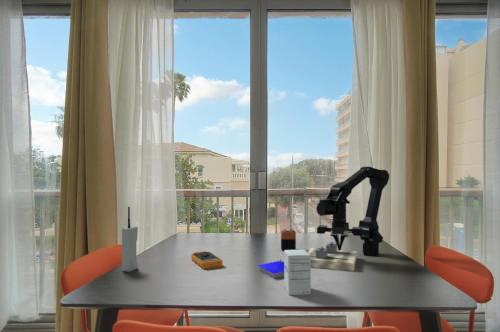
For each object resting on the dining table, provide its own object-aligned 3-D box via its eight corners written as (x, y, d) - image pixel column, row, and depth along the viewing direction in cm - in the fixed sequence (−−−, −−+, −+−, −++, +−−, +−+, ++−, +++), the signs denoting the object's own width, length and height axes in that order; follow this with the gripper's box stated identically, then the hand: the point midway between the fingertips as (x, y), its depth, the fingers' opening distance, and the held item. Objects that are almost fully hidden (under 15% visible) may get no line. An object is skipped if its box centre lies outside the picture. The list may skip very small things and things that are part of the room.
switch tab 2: (336, 250, 152) (336, 242, 152) (335, 253, 147) (335, 244, 147) (327, 250, 153) (327, 241, 153) (326, 252, 149) (326, 243, 149)
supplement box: (283, 287, 115) (283, 249, 115) (305, 286, 116) (305, 249, 116) (288, 295, 108) (287, 255, 108) (311, 294, 109) (311, 254, 109)
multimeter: (208, 257, 155) (208, 249, 156) (223, 267, 139) (223, 259, 139) (189, 259, 152) (189, 252, 152) (203, 270, 136) (203, 262, 136)
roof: (273, 280, 124) (273, 265, 124) (257, 271, 134) (257, 257, 134) (300, 275, 129) (300, 260, 129) (283, 267, 140) (283, 253, 140)
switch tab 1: (327, 255, 144) (327, 246, 144) (325, 258, 139) (325, 249, 139) (317, 254, 145) (317, 245, 145) (315, 257, 140) (315, 248, 140)
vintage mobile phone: (138, 268, 138) (137, 205, 138) (129, 272, 133) (129, 207, 133) (130, 267, 139) (130, 205, 139) (121, 271, 134) (121, 207, 134)
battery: (295, 251, 165) (295, 230, 165) (281, 251, 165) (281, 230, 165) (294, 248, 170) (294, 228, 170) (280, 249, 169) (280, 228, 169)
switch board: (356, 258, 152) (356, 251, 152) (353, 271, 133) (353, 263, 133) (311, 254, 158) (311, 247, 158) (302, 266, 140) (302, 258, 140)
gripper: (314, 215, 145) (314, 253, 145) (361, 217, 139) (361, 256, 138) (318, 212, 155) (318, 247, 155) (362, 214, 149) (362, 250, 149)
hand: (339, 250), depth 149 cm, fingers closed
